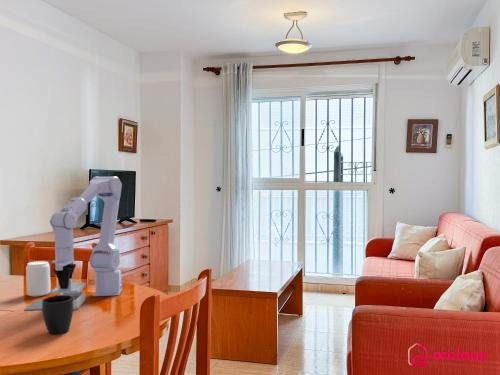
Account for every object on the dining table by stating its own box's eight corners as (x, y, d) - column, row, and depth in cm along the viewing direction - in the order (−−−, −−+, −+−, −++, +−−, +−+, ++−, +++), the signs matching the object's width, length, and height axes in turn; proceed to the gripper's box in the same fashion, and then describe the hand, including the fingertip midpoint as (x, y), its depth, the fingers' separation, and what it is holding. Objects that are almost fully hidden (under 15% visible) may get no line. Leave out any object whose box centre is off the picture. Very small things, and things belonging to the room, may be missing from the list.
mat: (59, 299, 172) (59, 298, 172) (48, 309, 160) (48, 308, 160) (36, 300, 172) (36, 299, 172) (23, 310, 159) (23, 309, 159)
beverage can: (54, 291, 183) (53, 260, 183) (43, 297, 175) (42, 265, 175) (34, 291, 184) (33, 260, 184) (22, 297, 176) (21, 264, 176)
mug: (72, 321, 146) (71, 291, 146) (74, 333, 135) (73, 300, 135) (43, 325, 143) (42, 294, 143) (43, 338, 132) (42, 304, 132)
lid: (86, 284, 171) (85, 272, 171) (77, 292, 159) (77, 279, 159) (61, 285, 170) (61, 273, 170) (50, 293, 158) (50, 280, 158)
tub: (85, 299, 171) (85, 291, 171) (77, 309, 159) (77, 300, 159) (62, 300, 170) (62, 292, 170) (52, 310, 158) (52, 301, 158)
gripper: (58, 244, 166) (59, 282, 167) (45, 251, 152) (46, 293, 152) (79, 243, 167) (80, 282, 167) (68, 250, 153) (69, 292, 153)
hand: (65, 287), depth 160 cm, fingers closed on lid, 2 cm apart
